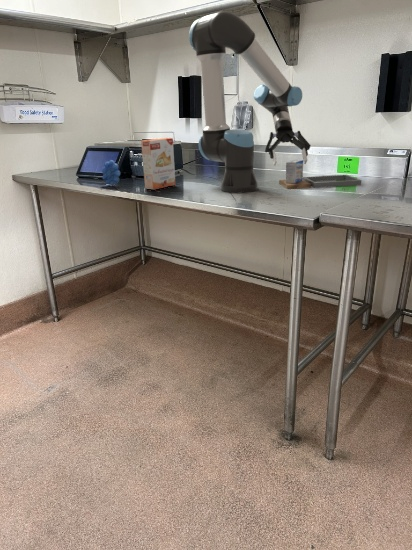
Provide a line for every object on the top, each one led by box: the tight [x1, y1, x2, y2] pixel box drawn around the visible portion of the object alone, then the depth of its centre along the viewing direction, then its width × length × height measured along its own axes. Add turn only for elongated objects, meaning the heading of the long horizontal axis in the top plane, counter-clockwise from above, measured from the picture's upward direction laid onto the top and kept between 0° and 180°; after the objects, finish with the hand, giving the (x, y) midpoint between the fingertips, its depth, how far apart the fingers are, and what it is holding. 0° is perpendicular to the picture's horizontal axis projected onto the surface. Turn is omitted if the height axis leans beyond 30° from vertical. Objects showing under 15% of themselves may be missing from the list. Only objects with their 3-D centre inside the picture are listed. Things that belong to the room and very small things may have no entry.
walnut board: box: [278, 179, 312, 190], centre depth 175 cm, size 10×13×2 cm
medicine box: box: [285, 159, 304, 184], centre depth 173 cm, size 8×4×9 cm, turn 145°
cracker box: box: [140, 137, 176, 189], centre depth 179 cm, size 14×6×21 cm, turn 141°
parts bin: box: [303, 174, 362, 189], centre depth 176 cm, size 20×15×2 cm
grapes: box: [101, 159, 121, 185], centre depth 190 cm, size 12×7×12 cm, turn 54°
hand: (290, 163), depth 180 cm, fingers open, 13 cm apart
